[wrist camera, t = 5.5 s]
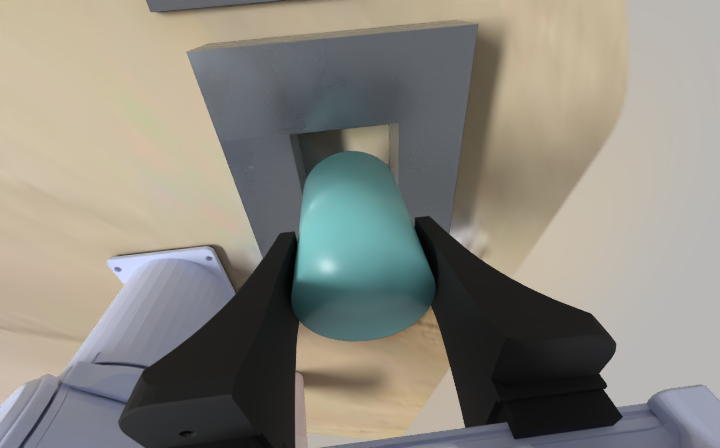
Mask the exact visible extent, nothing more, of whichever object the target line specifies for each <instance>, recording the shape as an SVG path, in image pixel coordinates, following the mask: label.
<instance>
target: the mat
mask: <svg viewBox="0 0 720 448" xmlns="http://www.w3.org/2000/svg"><path fill="white" fill-rule="evenodd" d="M269 1H280V0H146V2H147V4H148V7H149V9H150V12H160V11H171V10H182V9H192V8H203V7H214V6H225V5H236V4H247V3H258V2H269Z"/></svg>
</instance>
